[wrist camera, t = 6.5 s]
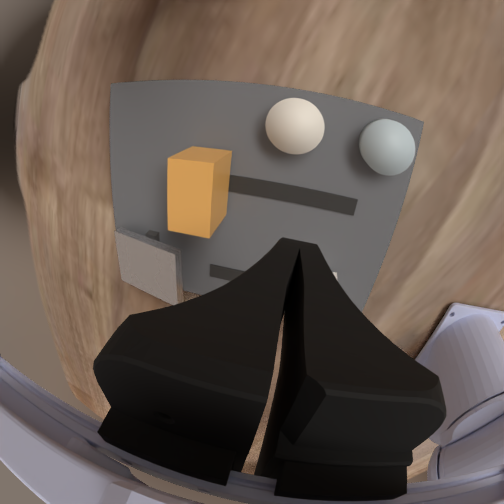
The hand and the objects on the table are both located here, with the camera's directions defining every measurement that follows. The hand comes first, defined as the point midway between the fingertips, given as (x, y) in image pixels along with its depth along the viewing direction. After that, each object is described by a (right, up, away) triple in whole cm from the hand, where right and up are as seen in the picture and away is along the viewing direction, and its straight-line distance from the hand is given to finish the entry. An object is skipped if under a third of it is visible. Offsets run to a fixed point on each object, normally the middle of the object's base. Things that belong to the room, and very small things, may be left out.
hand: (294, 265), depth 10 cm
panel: (-2, +4, +9) cm, 10 cm away
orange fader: (-4, +5, +7) cm, 9 cm away
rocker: (-9, -1, +10) cm, 13 cm away
